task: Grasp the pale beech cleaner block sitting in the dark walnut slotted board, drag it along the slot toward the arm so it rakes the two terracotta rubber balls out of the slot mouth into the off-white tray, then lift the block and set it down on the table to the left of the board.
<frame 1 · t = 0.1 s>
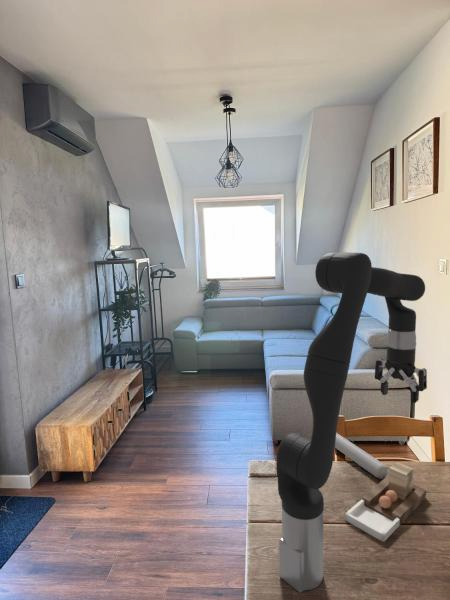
hand: (398, 398, 117), 29 cm above the table, fingers open, 8 cm apart
slot board: (394, 501, 116), on the table
ball a: (391, 501, 114), point 1 cm above the table, touching slot board
ball b: (385, 507, 112), point 1 cm above the table, touching slot board
tube: (356, 461, 137), on the table
cleaner block: (400, 493, 118), point 1 cm above the table, touching slot board
tray: (371, 522, 108), on the table
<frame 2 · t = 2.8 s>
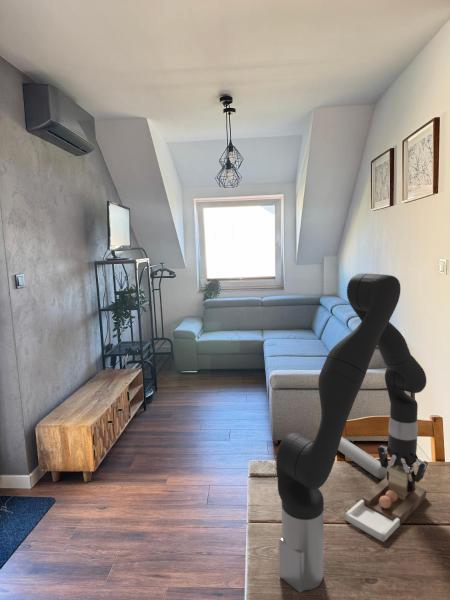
hand: (400, 486, 117), 3 cm above the table, fingers closed on cleaner block, 5 cm apart
cleaner block: (400, 493, 118), point 1 cm above the table, touching gripper, slot board
everything else where it was.
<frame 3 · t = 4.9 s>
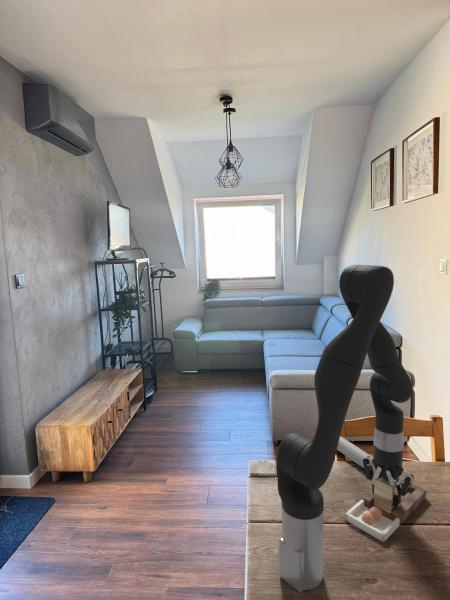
hand: (386, 499, 112), 3 cm above the table, fingers closed on cleaner block, 5 cm apart
ball a: (372, 518, 108), point 1 cm above the table, tilted 53°, touching tray
ball b: (366, 525, 106), point 1 cm above the table, tilted 30°, touching tray
cleaner block: (386, 505, 112), point 1 cm above the table, touching gripper
everything else where it was.
when the fingers open (4 cm above the table, at t = 10.4 s): cleaner block drops 2 cm, on the table.
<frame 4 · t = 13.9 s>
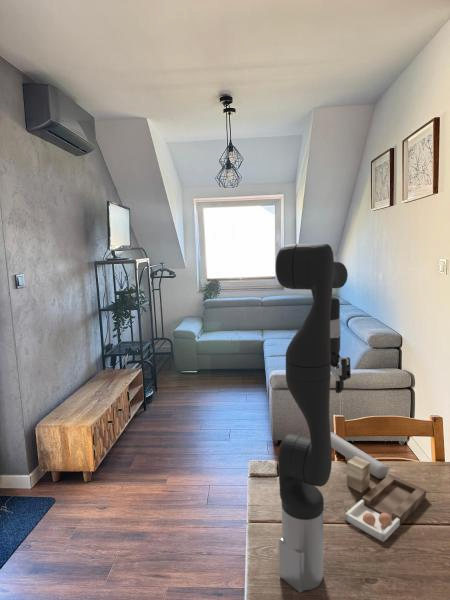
hand: (325, 388, 115), 33 cm above the table, fingers open, 8 cm apart
ball a: (379, 518, 106), point 2 cm above the table, tilted 99°, touching tray
cleaner block: (358, 485, 123), on the table
everything else where it was.
at the end: ball a inside the target area (1.8 cm from its centre), point 2.2 cm above the table; ball b inside the target area (2.9 cm from its centre), point 0.7 cm above the table; cleaner block inside the target area (0.3 cm from its centre), on the table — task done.
